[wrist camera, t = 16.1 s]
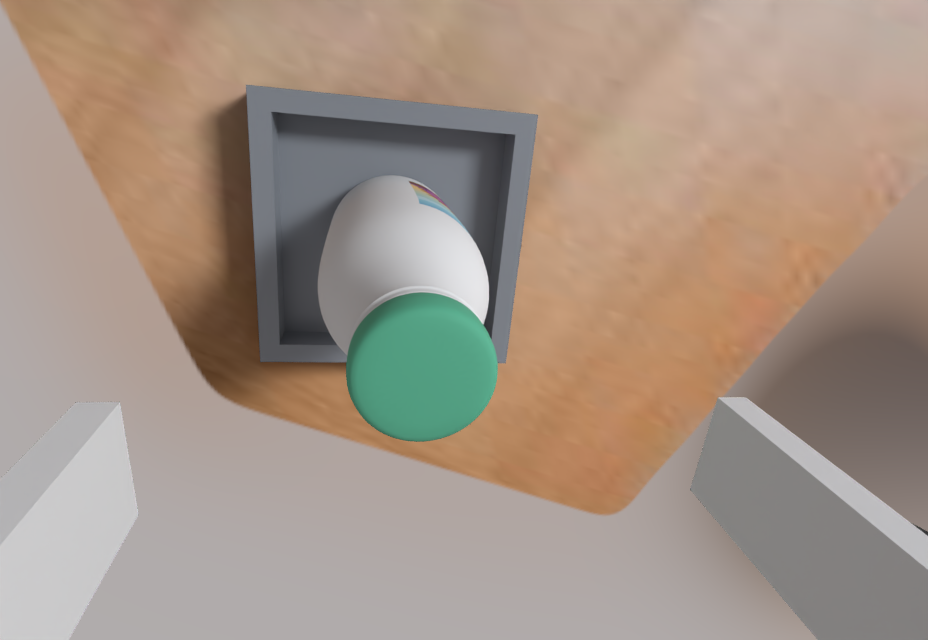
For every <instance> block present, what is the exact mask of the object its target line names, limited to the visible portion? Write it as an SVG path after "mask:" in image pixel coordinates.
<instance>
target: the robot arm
mask: <svg viewBox="0 0 928 640" xmlns="http://www.w3.org/2000/svg"><path fill="white" fill-rule="evenodd" d="M690 490H691V491H692V492H693V494H694V495H695V496H696V497H697V498H698V500H699V501H700V502H701V503H702V504H703V506H704V507H706V509H707V510H708V511H709V513H710V514H711V515H712V516H713V517H714V518H715V520H716V521H717V522H718V523H719V524H720V526H722V528H723V529H724V530H725V531H726V532H727V534H728V535H729V536H730V537H731V538H732V540H733V541H734V542H735V543H736V544H737V545H738V546H739V548H740V549H741V550H742V551H743V553H744V554H745V555H746V556H747V557H748V558H749V560H750V561H751V562H752V563H753V564H754V565H755V567H756V568H757V569H758V570H759V571H760V572H761V574H762V575H763V576H764V577H765V578H766V580H767V581H768V582H769V583H770V584H771V585H772V586H773V588H774V589H775V590H776V591H777V592H778V594H779V595H780V596H781V597H782V598H783V600H784V601H785V602H786V603H787V604H788V605H789V607H790V608H791V609H792V610H793V611H794V612H795V614H796V615H797V616H798V617H799V618H800V619H801V621H802V622H803V623H804V624H805V625H806V626H807V628H808V629H809V630H810V631H811V632H812V634H813V635H814V636H815V637H816V638H817V639H818V640H928V532H927V531H925V530H923V529H922V528H920V527H918V526H916V525H914V524H912V523H911V522H909V521H907V520H906V519H905V518H904V517H902V516H901V515H900V514H898V513H897V512H896V511H894V510H893V509H892V508H890V507H889V506H888V505H886V504H885V503H884V502H883V501H881V500H880V499H878V498H877V497H876V496H874V495H873V494H872V493H871V492H869V491H868V490H867V489H865V488H864V487H863V486H861V485H860V484H859V483H857V482H856V481H855V480H854V479H852V478H851V477H850V476H848V475H847V474H846V473H844V472H843V471H842V470H840V469H839V468H838V467H837V466H835V465H834V464H833V463H831V462H830V461H829V460H827V459H826V458H825V457H823V456H822V455H821V454H819V453H818V452H817V451H815V450H814V449H813V448H812V447H810V446H809V445H807V444H806V443H805V442H804V441H802V440H801V439H800V438H798V437H797V436H795V435H794V434H793V433H792V432H790V431H789V430H788V429H786V428H785V427H784V426H783V425H781V424H780V423H779V422H777V421H776V420H774V419H773V418H772V417H771V416H769V415H768V414H767V413H765V412H764V411H763V410H762V409H760V408H759V407H757V406H756V405H755V404H753V403H752V402H751V401H750V400H748V399H747V398H746V397H730V398H729V397H728V398H727V397H722V398H718V399H717V402H716V406H715V409H714V412H713V415H712V419H711V422H710V425H709V429H708V432H707V435H706V439H705V442H704V445H703V448H702V452H701V455H700V458H699V462H698V465H697V468H696V472H695V475H694V478H693V481H692V485H691V488H690ZM138 515H139V514H138V508H137V502H136V496H135V490H134V484H133V478H132V471H131V465H130V460H129V453H128V447H127V441H126V435H125V430H124V423H123V417H122V411H121V405H120V402H76V403H75V404H74V405H73V406H72V407H71V408H70V409H69V410H68V411H67V412H66V413H65V414H64V415H63V416H62V417H61V418H60V419H59V420H58V421H57V422H56V423H55V424H54V425H53V426H52V427H51V428H50V429H49V430H48V431H47V432H46V433H45V434H44V435H43V436H42V437H41V439H39V440H38V441H37V442H36V443H35V444H34V445H33V446H32V447H31V448H30V449H29V450H28V452H26V453H25V454H24V455H23V456H22V457H21V458H20V459H19V461H18V462H17V463H16V464H15V465H14V466H13V467H12V468H11V469H10V470H9V471H8V472H7V473H6V474H5V475H4V476H3V477H2V478H1V479H0V640H69V638H70V637H71V635H72V633H73V631H74V630H75V628H76V626H77V624H78V622H79V621H80V619H81V617H82V615H83V613H84V611H85V610H86V608H87V606H88V604H89V603H90V601H91V599H92V597H93V595H94V594H95V592H96V590H97V588H98V587H99V585H100V583H101V581H102V579H103V578H104V576H105V574H106V572H107V570H108V569H109V567H110V565H111V563H112V561H113V560H114V558H115V556H116V554H117V553H118V551H119V549H120V547H121V545H122V544H123V542H124V540H125V538H126V536H127V535H128V533H129V531H130V529H131V527H132V525H133V524H134V522H135V520H136V518H137V517H138Z"/></svg>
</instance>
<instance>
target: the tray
mask: <svg viewBox="0 0 928 640" xmlns="http://www.w3.org/2000/svg"><path fill="white" fill-rule="evenodd" d="M246 92H247V112H248V131H249V151H250V170H251V190H252V210H253V229H254V249H255V268H256V288H257V307H258V327H259V346H260V362H347V355H346V354H345V353H344V352H343V351H342V350H341V349H340V347H339V346H338V345H337V344H336V342H335V341H334V340H333V338H332V336H331V335H330V333H329V331H328V329H327V327H326V324H325V322H324V320H323V317H322V314H321V309H320V305H319V298H318V274H319V267H320V261H321V256H322V253H323V249H324V245H325V241H326V238H327V234H328V231H329V228H330V225H331V221H332V218H333V216H334V213H335V211H336V209H337V207H338V205H339V204H340V202H341V201H342V199H343V198H344V197H345V196H346V194H347V193H348V192H349V191H351V190H352V189H353V188H354V187H356V186H357V185H359V184H360V183H362V182H364V181H366V180H368V179H371V178H374V177H378V176H385V175H397V176H404V177H408V178H411V179H414V180H416V181H418V182H420V183H422V184H424V185H425V186H427V187H428V188H429V189H431V190H432V191H433V192H434V193H435V194H436V195H437V196H439V198H440V199H441V200H442V201H443V202H444V203H445V204H446V205H447V207H448V208H449V209H450V210H451V211H452V212H453V214H454V215H455V216H456V217H457V218H458V220H459V221H460V222H461V223H462V225H463V226H464V227H465V228H466V230H467V231H468V233H469V234H470V236H471V237H472V239H473V240H474V242H475V243H476V245H477V247H478V249H479V251H480V253H481V255H482V258H483V261H484V264H485V267H486V271H487V276H488V282H489V303H488V309H487V314H486V318H485V321H484V324H483V325H484V327H485V328H486V330H487V332H488V334H489V336H490V338H491V340H492V343H493V345H494V348H495V351H496V356H497V363H506V356H507V349H508V341H509V334H510V326H511V318H512V311H513V303H514V295H515V288H516V280H517V272H518V265H519V257H520V249H521V242H522V234H523V226H524V219H525V211H526V203H527V196H528V188H529V180H530V173H531V165H532V157H533V150H534V142H535V134H536V127H537V119H538V115H535V114H525V113H516V112H506V111H496V110H486V109H477V108H467V107H457V106H447V105H438V104H428V103H418V102H409V101H399V100H389V99H379V98H370V97H360V96H350V95H340V94H331V93H321V92H311V91H301V90H292V89H282V88H272V87H263V86H253V85H246Z"/></svg>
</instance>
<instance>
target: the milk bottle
mask: <svg viewBox="0 0 928 640" xmlns="http://www.w3.org/2000/svg"><path fill="white" fill-rule="evenodd" d="M318 298H319V305H320V309H321V314H322V317H323V320H324V322H325V324H326V327H327V329H328V331H329V333H330V335H331V336H332V338H333V340H334V341H335V342H336V344H337V345H338V346H339V347H340V349H341V350H342V351H343V352H344V353H345V354H346V355H347V362H346V378H347V386H348V391H349V394H350V397H351V399H352V401H353V403H354V405H355V407H356V409H357V410H358V412H359V413H360V415H361V416H362V417H363V418H364V419H365V420H366V421H367V422H368V423H369V424H370V425H371V426H372V427H374V428H375V429H377V430H378V431H380V432H382V433H383V434H386V435H388V436H390V437H393V438H396V439H400V440H405V441H416V442H419V441H431V440H437V439H441V438H444V437H447V436H450V435H452V434H454V433H456V432H458V431H460V430H462V429H463V428H465V427H466V426H468V425H469V424H470V423H472V422H473V421H474V420H475V419H476V418H477V417H478V416H479V415H480V414H481V413H482V411H483V410H484V409H485V407H486V406H487V404H488V403H489V401H490V399H491V397H492V395H493V392H494V389H495V385H496V381H497V371H498V364H497V356H496V351H495V348H494V345H493V343H492V340H491V338H490V336H489V334H488V332H487V330H486V328H485V327H484V325H483V324H484V321H485V318H486V314H487V309H488V303H489V282H488V276H487V271H486V267H485V264H484V261H483V258H482V255H481V253H480V251H479V249H478V247H477V245H476V243H475V242H474V240H473V239H472V237H471V236H470V234H469V233H468V231H467V230H466V228H465V227H464V226H463V225H462V223H461V222H460V221H459V220H458V218H457V217H456V216H455V215H454V214H453V212H452V211H451V210H450V209H449V208H448V207H447V205H446V204H445V203H444V202H443V201H442V200H441V199H440V198H439V196H437V195H436V194H435V193H434V192H433V191H432V190H431V189H429V188H428V187H427V186H425V185H424V184H422V183H420V182H418V181H416V180H414V179H411V178H408V177H404V176H397V175H385V176H378V177H374V178H371V179H368V180H366V181H364V182H362V183H360V184H359V185H357V186H356V187H354V188H353V189H352V190H351V191H349V192H348V193H347V194H346V196H345V197H344V198H343V199H342V201H341V202H340V204H339V205H338V207H337V209H336V211H335V213H334V216H333V218H332V221H331V225H330V228H329V231H328V234H327V238H326V241H325V245H324V249H323V253H322V256H321V261H320V267H319V274H318Z"/></svg>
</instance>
